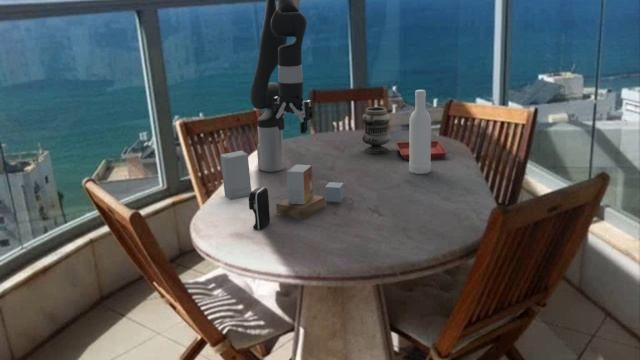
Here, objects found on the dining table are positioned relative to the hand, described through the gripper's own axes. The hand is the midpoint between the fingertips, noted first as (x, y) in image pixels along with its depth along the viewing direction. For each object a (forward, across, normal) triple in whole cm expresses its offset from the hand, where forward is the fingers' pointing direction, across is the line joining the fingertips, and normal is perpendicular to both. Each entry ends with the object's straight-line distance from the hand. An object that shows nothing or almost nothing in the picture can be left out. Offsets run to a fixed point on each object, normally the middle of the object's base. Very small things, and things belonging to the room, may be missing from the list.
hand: (292, 131), depth 191 cm
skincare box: (+25, -21, -4) cm, 33 cm away
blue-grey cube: (+24, +10, +8) cm, 27 cm away
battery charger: (+24, +3, -22) cm, 33 cm away
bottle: (+24, +23, +48) cm, 58 cm away
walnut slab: (+24, +7, -6) cm, 26 cm away
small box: (+20, +7, -6) cm, 22 cm away
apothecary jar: (+25, -6, +68) cm, 72 cm away
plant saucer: (+25, +13, +70) cm, 75 cm away
